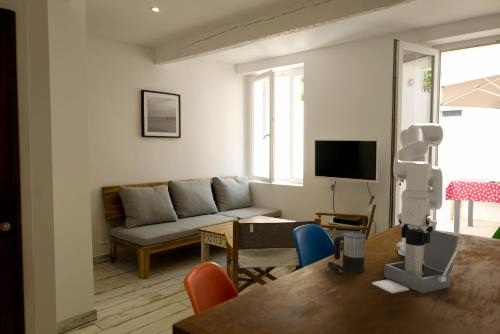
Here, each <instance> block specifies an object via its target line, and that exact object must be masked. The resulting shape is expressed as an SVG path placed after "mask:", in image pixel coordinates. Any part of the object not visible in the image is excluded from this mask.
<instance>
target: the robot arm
mask: <svg viewBox="0 0 500 334" xmlns="http://www.w3.org/2000/svg"><path fill="white" fill-rule="evenodd" d="M443 129H444V128H443V127H442V126H441V125H440V124H439V123H414V124H411V125H409V126H408V127H407V128H405V129H402V130H401V132H400V134H399V135H400V136H399V137H400V144H401V146H402V147H401V148H400V149H399V150H397V152H396V154H395V156H394V158H393V170H392V171H393V176H394V177H395V178H396V179H397V180H401V181H405V189H404V190H403V191H402V192H401V196H400V197H401V212H400V213H397V215H396V217H397V220H398V223H399V226H400V228H401V235H400V236H401V241H398V243H396V247H399V249H398V250H397V251H398V252H397V253H398V255H400V256H403V257H405V247H406V230H407V229H417V227H421V228H422V229H423V231H424V232H423V235H422V243H424V244H426V243H430V232H432V231H433V230H434V231H435V229H436V226H437V224H438V222H437V221H436V220H435V219H434V218H432V216H431V211H439V210H440V209H441V208H442V205H443V172H442V170H441V168H440V167H439V166H434V165H432V164H431V163H430V162H428V161H426V156H425V155H426V154H427V153H428V150H429V147H439V146H440V144H441V143H442V141H443V140H444V131H443Z"/></svg>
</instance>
